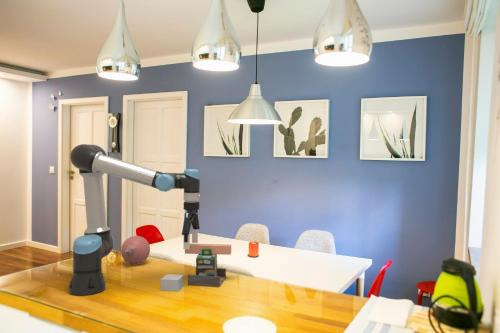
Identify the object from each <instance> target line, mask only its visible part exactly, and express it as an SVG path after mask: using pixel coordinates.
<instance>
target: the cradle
mask: <svg viewBox="0 0 500 333" xmlns="http://www.w3.org/2000/svg"><path fill="white" fill-rule="evenodd" d="M226 278H227V268H224V267H223V268H221V267H217V276H200V275H196V274H188V275H187V286H190V287H193V286H195V287H211V288H213V287H214V288H220V287H221V285H222V284H223V283H224V281H225V280H226Z"/></svg>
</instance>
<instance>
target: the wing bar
mask: <svg viewBox="0 0 500 333" xmlns="http://www.w3.org/2000/svg"><path fill="white" fill-rule="evenodd" d="M202 249H211V250H212V254H217V255H223V256H224V255H227V256H231V255H232V244H223V243H221V244H220V243H190V249H184V255H185V254H186V255H188V254H189V255H190V254H191V255H198V254H202ZM204 253H205V254H208V253H209V252H208V251H205V252H204Z"/></svg>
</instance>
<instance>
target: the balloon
mask: <svg viewBox="0 0 500 333" xmlns="http://www.w3.org/2000/svg"><path fill="white" fill-rule="evenodd" d="M120 253H121V254H120V255H121V257H122V260H124V261H125V262H126V263H128V264H129V265H140V264H142V263H144V262H145V261H146V260H147V259H148V257H149V256H150V253H151V247H150V243H149V241H148V240H147V239H146V238H144V237H143V236H139V235H132V236H130V237H128V238H127V239H125V240H124V241H123V243H122V245H121V248H120Z"/></svg>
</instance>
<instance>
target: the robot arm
mask: <svg viewBox="0 0 500 333" xmlns="http://www.w3.org/2000/svg"><path fill="white" fill-rule="evenodd" d="M69 160H70V162H71V165H73V167H74V168H76V169H78V174H79V176H81V177H82V180H83V191H84V192H83V193H84V203H85V204H84V205H85V216H86V229H85V230H84V232H83V233H84V235H80V236H78V237H76V238H75V239H74V241H73V243H72V270H73V271H72V276H71V279H70V281H69V285H68V293H69V294H70V295H71V296H91V295H95V294H99V293H102V292H104V291H105V290H106V288H107V287H106V286H107V285H106V284H107V283H106V280H105V277H104V274H103V271H102V266H103V265H102V264H103V263H102V259H103V258H105V257H107V256H109V255H110V253H112V250H114V246H115V239H114V236H113V235H112V234H111V228H110V227H109V226H108V225H107V216H106V215H107V214H106V204H105V191H104V190H105V189H104V178H103V176H104V174H106V175H109V176H113V177H116V178H120V179H123V180H127V181H130V182H134V183H136V184H140V185H143V186H147V187H150V188H154V189H157V190H159V191H160V192H164V193H165V192H169V191H171V190H177V189H178V190H179V189H180V190H183V210H184V211H186V212H185V213H184V215H183V217H184V219H183V225H182V229H181V231H182V232H181V235H182V236H183V241H182V242H183V248H182V249H183V250H185V249H190V244H199V243H198V242H199V241H198V237H199V230H200V228H201V227H200V222H199V221H200V220H199V212H198V210H200V197H201V194H200V192H201V191H200V188H201V187H200V186H201V173H200V170H199V169H195V168H190V169H189V168H188V169H187V168H185V169H184V171H183V172H181V173H177V172H162V171H158V170H155V169H153V168H152V169H151V168H148V167H146V166H143V165H138V164H136V163H131V162H128V161H125V160H121V159H119V158H115V157H111V156H108V154H107V152H106V150H105V149H104V148H103V147H102V146H99V145H97V144H88V143H87V144H86V143H81V144H78V145H76V146H75V147H74V148H72V150H71V151H70V155H69ZM191 227H192V230H191ZM190 231H192V232H191V236H190ZM190 239H191V241H190ZM190 242H191V243H190Z"/></svg>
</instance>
